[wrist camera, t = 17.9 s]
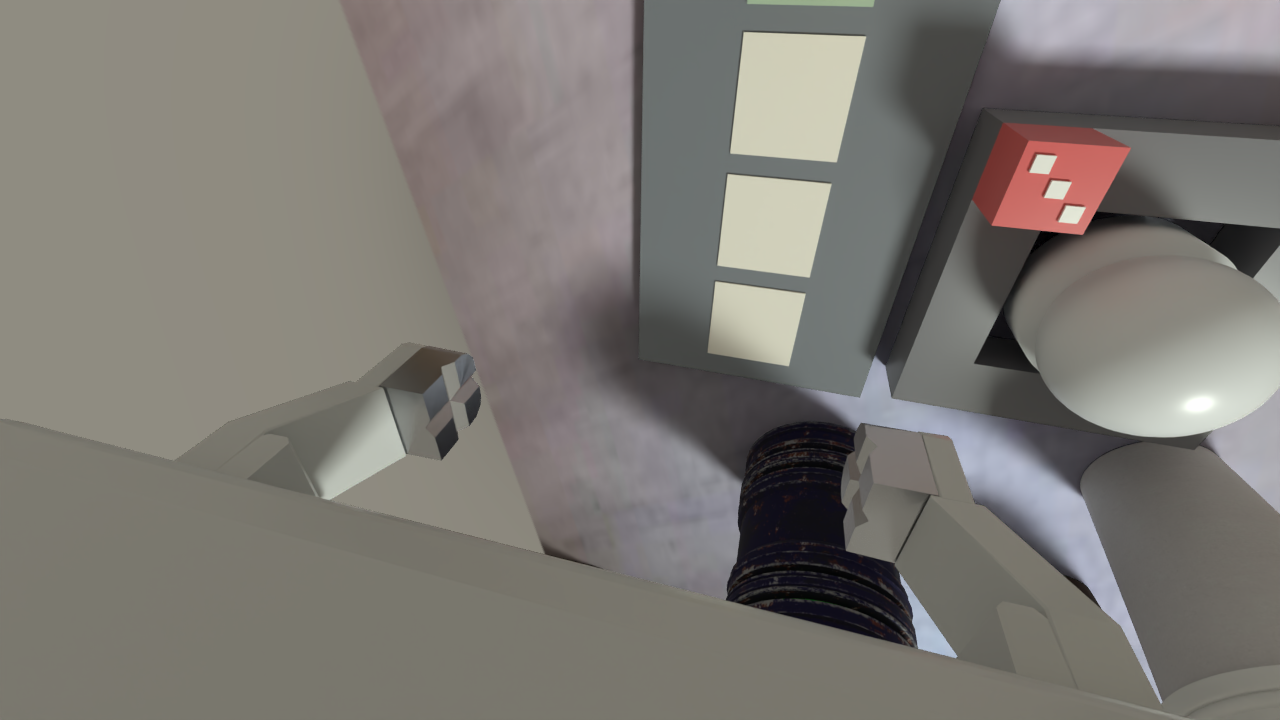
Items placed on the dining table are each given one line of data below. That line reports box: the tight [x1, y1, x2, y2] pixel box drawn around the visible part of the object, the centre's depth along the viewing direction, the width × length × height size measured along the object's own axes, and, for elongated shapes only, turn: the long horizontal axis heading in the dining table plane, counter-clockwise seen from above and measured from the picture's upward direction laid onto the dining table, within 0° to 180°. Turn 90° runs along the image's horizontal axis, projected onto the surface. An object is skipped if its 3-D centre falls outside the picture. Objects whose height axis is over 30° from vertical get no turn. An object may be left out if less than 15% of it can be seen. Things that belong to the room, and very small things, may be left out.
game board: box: [639, 0, 1001, 397], centre depth 25 cm, size 26×14×1 cm, turn 179°
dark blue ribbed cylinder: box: [726, 422, 918, 649], centre depth 31 cm, size 10×10×15 cm
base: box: [886, 108, 1280, 450], centre depth 22 cm, size 14×14×6 cm
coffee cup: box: [1080, 442, 1280, 720], centre depth 24 cm, size 10×10×15 cm
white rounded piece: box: [1004, 215, 1280, 437], centre depth 20 cm, size 7×7×8 cm
